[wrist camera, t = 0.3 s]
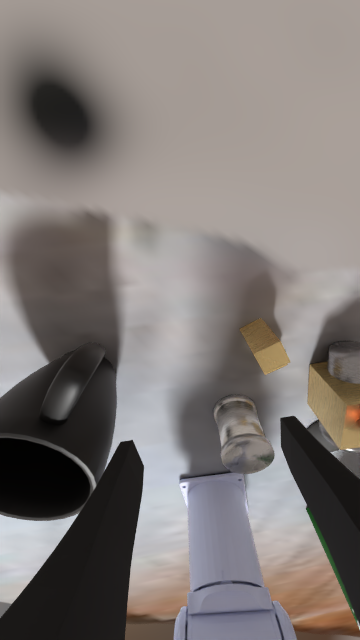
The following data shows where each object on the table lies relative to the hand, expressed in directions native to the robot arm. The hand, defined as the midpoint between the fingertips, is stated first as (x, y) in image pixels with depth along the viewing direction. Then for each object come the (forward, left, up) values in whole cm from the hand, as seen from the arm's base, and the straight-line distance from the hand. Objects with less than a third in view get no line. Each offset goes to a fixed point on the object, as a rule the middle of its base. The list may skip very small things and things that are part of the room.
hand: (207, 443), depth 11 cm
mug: (0, +9, -10) cm, 14 cm away
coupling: (-9, -3, -10) cm, 14 cm away
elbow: (-1, -6, -10) cm, 11 cm away
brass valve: (-7, -13, -10) cm, 17 cm away
